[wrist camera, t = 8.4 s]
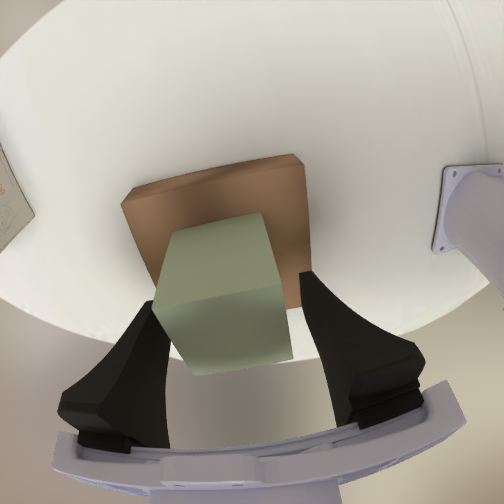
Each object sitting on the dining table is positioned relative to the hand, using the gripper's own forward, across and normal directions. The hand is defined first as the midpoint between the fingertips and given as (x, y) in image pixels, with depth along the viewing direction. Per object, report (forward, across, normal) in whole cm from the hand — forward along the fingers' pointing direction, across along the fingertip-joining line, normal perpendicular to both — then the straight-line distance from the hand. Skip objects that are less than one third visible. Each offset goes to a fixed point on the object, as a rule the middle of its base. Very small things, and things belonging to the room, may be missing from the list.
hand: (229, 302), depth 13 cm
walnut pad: (+6, 0, 0) cm, 6 cm away
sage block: (+3, 0, 0) cm, 4 cm away
